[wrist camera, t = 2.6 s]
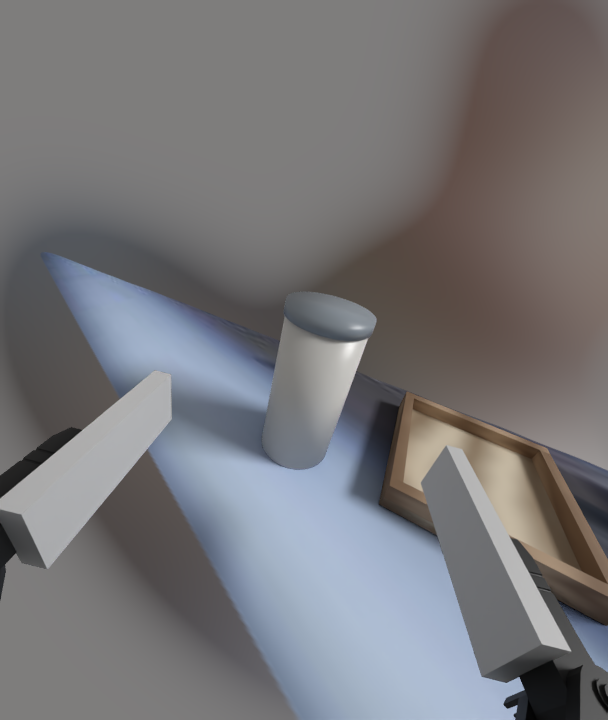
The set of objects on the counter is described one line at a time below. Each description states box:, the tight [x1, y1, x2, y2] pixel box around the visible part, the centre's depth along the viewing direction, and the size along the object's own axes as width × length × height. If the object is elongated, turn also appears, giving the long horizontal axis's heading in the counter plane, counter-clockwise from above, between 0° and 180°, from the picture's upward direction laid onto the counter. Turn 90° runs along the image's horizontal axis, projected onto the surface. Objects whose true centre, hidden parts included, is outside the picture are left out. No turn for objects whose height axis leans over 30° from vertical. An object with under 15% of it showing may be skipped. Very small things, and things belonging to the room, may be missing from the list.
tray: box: [379, 392, 608, 626], centre depth 26 cm, size 16×16×2 cm
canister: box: [262, 292, 376, 470], centre depth 23 cm, size 7×7×14 cm
